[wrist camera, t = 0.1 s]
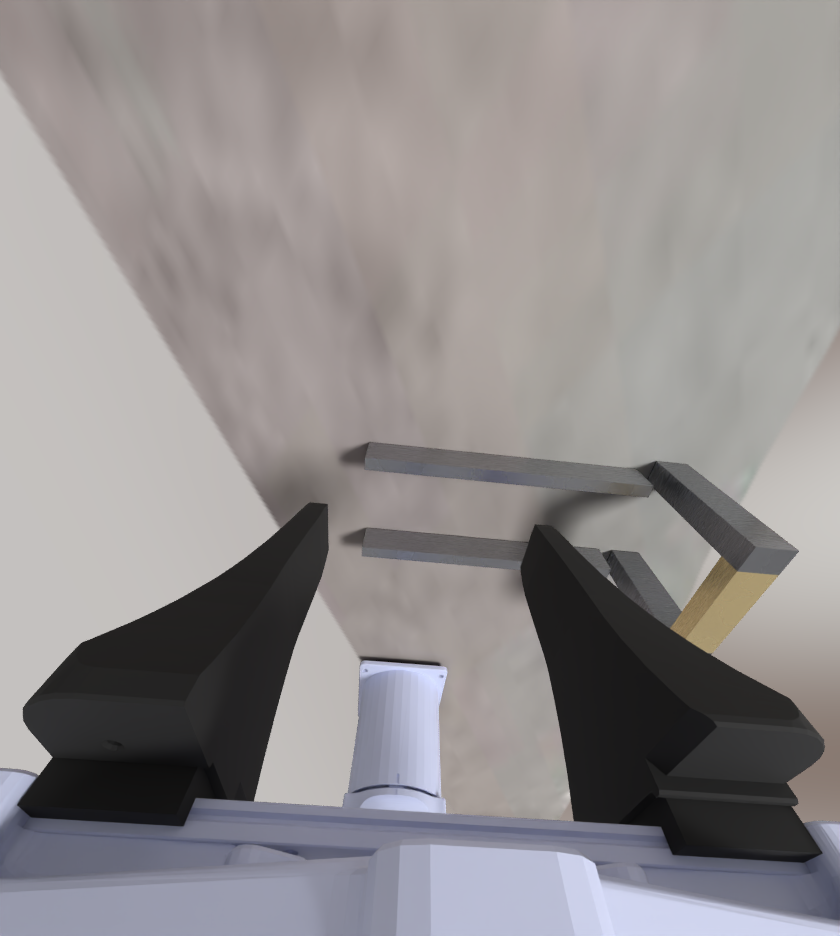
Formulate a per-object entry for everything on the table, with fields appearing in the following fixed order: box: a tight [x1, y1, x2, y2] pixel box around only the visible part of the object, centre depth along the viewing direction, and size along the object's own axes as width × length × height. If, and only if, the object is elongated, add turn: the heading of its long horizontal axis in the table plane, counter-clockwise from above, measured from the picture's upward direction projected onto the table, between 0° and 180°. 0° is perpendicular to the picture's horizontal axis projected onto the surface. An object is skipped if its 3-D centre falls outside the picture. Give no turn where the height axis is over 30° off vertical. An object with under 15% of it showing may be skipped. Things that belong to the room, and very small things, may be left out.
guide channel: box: [362, 442, 654, 578], centre depth 23 cm, size 8×17×2 cm, turn 84°
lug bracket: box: [607, 461, 799, 655], centre depth 21 cm, size 9×2×8 cm, turn 174°
